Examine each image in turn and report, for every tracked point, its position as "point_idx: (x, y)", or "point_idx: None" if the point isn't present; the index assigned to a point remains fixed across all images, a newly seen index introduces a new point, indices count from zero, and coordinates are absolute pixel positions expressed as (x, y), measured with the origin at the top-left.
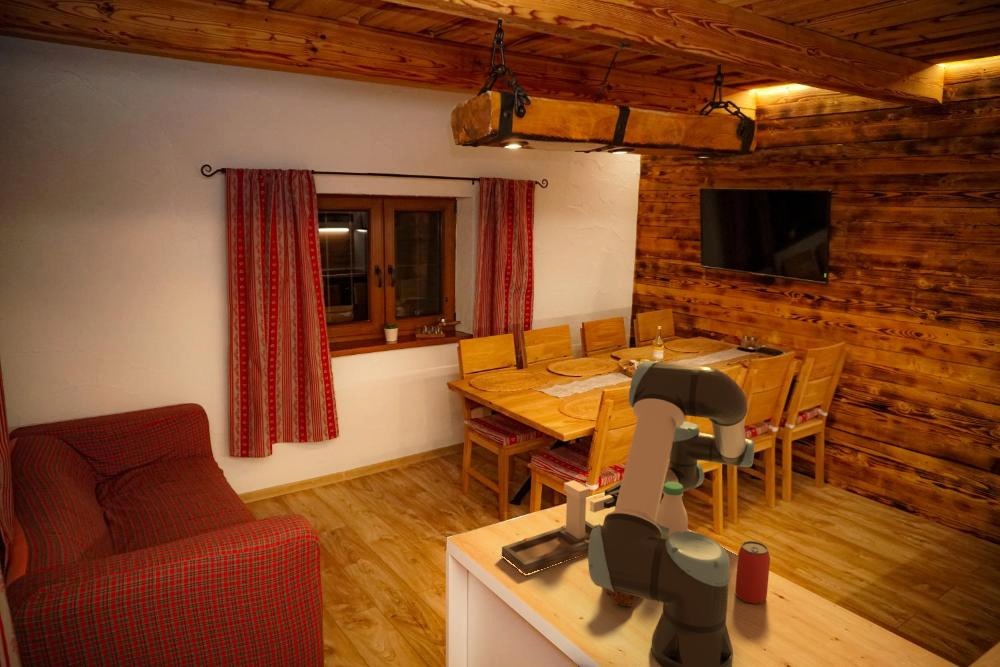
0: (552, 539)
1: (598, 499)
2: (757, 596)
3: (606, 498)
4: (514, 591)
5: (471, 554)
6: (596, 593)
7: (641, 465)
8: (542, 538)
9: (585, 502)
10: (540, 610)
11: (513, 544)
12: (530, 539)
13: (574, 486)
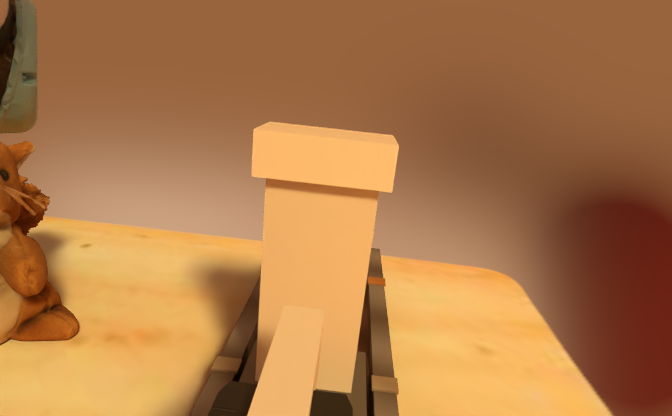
0: (361, 351)
1: (299, 344)
2: None
3: (262, 390)
4: (256, 241)
5: (424, 261)
6: (78, 294)
7: None
8: (369, 317)
9: (265, 210)
10: (176, 233)
11: (375, 261)
12: (374, 287)
13: (329, 130)
